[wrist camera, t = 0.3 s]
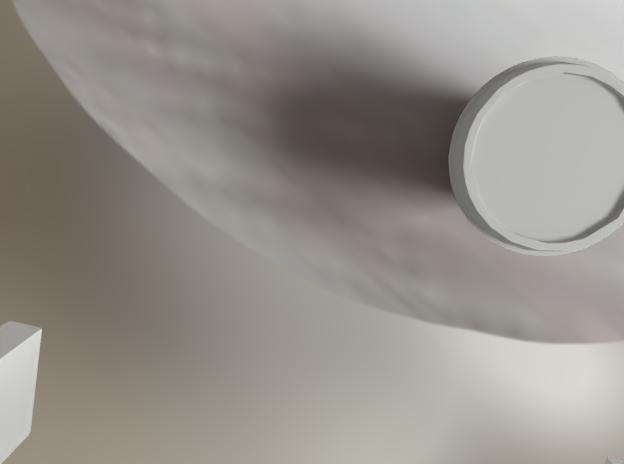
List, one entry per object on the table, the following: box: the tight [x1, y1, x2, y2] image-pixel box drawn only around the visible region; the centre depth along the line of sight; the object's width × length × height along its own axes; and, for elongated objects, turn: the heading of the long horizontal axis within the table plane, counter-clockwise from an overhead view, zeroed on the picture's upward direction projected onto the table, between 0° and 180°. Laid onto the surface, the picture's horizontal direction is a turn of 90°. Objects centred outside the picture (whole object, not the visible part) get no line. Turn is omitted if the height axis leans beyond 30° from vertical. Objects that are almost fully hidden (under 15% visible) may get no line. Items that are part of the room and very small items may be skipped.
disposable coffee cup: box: [448, 57, 624, 256], centre depth 32 cm, size 10×10×12 cm
